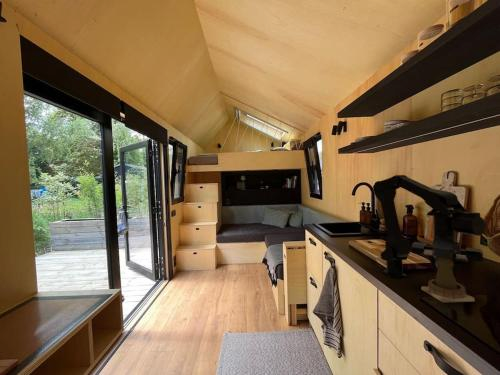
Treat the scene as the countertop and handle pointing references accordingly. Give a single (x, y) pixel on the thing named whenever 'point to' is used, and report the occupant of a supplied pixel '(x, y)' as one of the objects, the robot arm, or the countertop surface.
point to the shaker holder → (447, 293)
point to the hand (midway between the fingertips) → (445, 276)
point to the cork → (445, 273)
